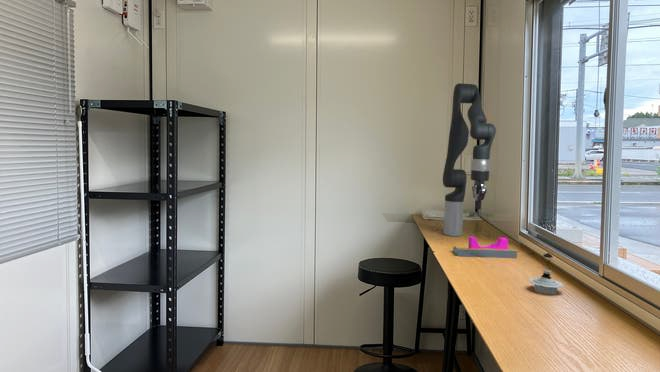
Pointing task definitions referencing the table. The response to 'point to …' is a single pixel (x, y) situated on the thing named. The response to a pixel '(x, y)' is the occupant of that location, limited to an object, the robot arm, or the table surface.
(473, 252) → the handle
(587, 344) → the table surface
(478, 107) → the robot arm
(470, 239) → the toy block
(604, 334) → the table surface
